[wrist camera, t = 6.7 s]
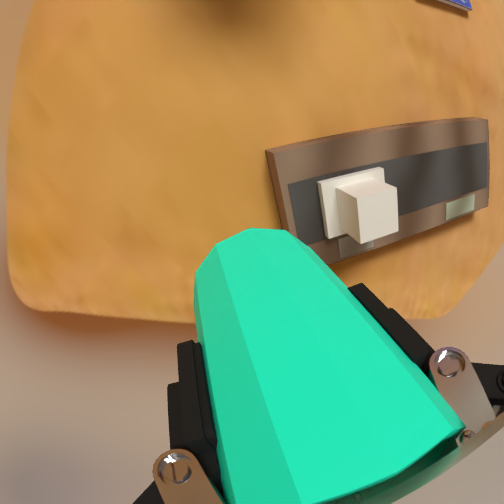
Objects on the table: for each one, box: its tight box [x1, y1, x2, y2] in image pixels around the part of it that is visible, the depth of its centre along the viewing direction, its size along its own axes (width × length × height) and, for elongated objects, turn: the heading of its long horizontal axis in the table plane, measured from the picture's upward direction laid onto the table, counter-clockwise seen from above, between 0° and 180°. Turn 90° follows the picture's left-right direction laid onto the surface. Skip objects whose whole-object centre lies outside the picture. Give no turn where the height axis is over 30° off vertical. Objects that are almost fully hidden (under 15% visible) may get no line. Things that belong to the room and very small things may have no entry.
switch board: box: [265, 117, 490, 265], centre depth 22 cm, size 22×9×2 cm, turn 104°
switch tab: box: [317, 167, 398, 244], centre depth 19 cm, size 5×4×3 cm
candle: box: [194, 228, 466, 504], centre depth 9 cm, size 6×6×12 cm
